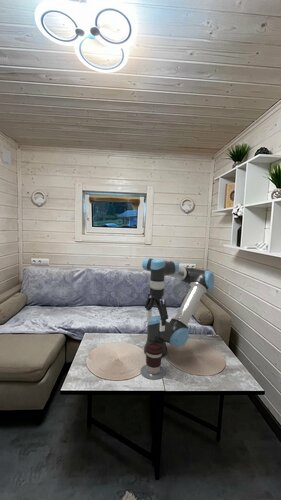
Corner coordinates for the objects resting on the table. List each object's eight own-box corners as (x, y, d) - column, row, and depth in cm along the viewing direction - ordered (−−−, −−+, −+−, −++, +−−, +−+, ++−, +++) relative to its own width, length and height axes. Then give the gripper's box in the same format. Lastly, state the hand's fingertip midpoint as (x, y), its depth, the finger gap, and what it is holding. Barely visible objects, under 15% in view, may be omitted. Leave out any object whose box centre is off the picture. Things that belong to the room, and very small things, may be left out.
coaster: (136, 368, 142) (136, 367, 142) (156, 362, 149) (156, 361, 149) (148, 382, 130) (148, 381, 130) (170, 375, 136) (170, 374, 136)
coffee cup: (154, 378, 132) (156, 351, 131) (140, 370, 139) (141, 345, 137) (165, 370, 140) (167, 345, 138) (151, 363, 146) (152, 339, 145)
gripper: (139, 283, 143) (138, 319, 145) (164, 295, 121) (162, 336, 124) (150, 282, 147) (149, 317, 149) (176, 293, 125) (174, 333, 127)
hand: (155, 326), depth 136 cm, fingers open, 13 cm apart
